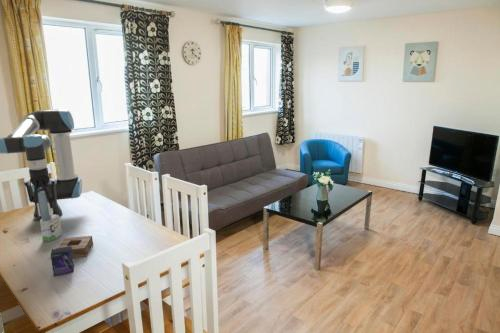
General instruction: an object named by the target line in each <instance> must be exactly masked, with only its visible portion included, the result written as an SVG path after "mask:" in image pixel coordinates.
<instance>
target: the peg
mask: <svg viewBox="0 0 500 333" xmlns="http://www.w3.org/2000/svg"><path fill="white" fill-rule="evenodd" d="M37 194H38V200H39V205H40V211H41V217H42V221H49V220H51V219H52V218H51V215H49V210H48V204H47V203H48V202H49V201H48V198H47V196H46V193H45V191H41V192H38V193H37Z"/></svg>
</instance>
